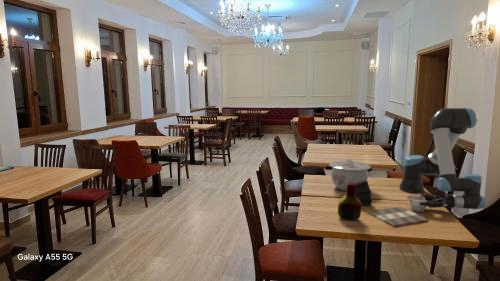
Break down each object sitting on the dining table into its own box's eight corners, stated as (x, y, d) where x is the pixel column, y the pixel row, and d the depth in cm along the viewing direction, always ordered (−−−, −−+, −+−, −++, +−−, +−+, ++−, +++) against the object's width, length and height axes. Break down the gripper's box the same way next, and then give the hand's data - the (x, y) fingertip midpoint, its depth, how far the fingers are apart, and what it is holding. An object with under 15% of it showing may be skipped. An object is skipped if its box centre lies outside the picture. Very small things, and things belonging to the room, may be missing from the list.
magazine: (377, 204, 191) (366, 181, 192) (355, 211, 197) (345, 188, 197) (377, 202, 195) (366, 179, 195) (355, 209, 200) (345, 186, 201)
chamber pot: (364, 197, 209) (365, 165, 206) (322, 190, 223) (323, 161, 220) (373, 186, 232) (375, 157, 229) (335, 180, 247) (336, 153, 244)
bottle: (361, 218, 176) (363, 182, 173) (360, 222, 170) (362, 185, 167) (338, 215, 181) (339, 180, 177) (336, 219, 175) (338, 183, 172)
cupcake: (418, 206, 192) (419, 190, 191) (430, 212, 183) (432, 195, 182) (404, 208, 190) (406, 191, 188) (416, 214, 181) (418, 196, 179)
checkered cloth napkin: (399, 208, 190) (400, 206, 190) (427, 221, 171) (428, 219, 171) (367, 212, 184) (368, 211, 183) (393, 227, 165) (393, 225, 165)
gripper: (461, 215, 173) (416, 213, 176) (443, 200, 195) (403, 199, 198) (463, 201, 172) (417, 200, 175) (444, 188, 193) (404, 187, 196)
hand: (410, 199), depth 186 cm, fingers closed on cupcake, 9 cm apart
